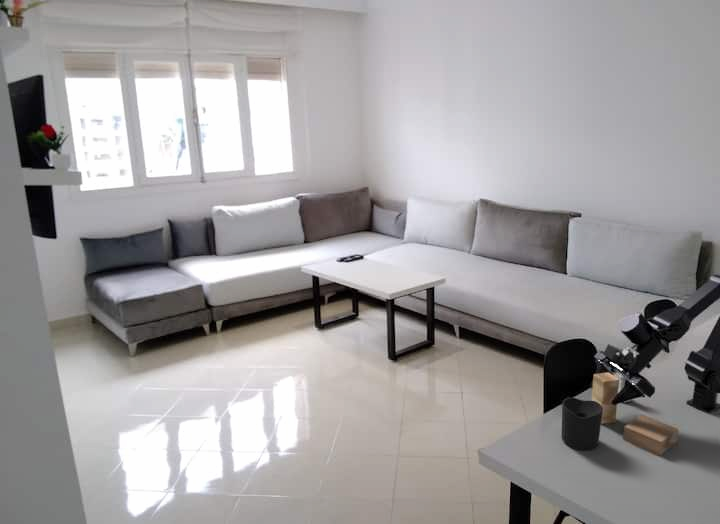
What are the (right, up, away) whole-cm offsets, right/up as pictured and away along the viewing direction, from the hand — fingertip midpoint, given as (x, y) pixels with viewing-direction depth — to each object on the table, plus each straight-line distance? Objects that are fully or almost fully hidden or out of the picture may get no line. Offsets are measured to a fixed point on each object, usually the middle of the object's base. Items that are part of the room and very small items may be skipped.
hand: (601, 395), depth 146 cm
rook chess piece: (+11, -4, +12) cm, 17 cm away
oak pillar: (+1, -7, +2) cm, 7 cm away
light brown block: (+8, -10, -9) cm, 15 cm away
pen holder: (-9, -10, -8) cm, 16 cm away
